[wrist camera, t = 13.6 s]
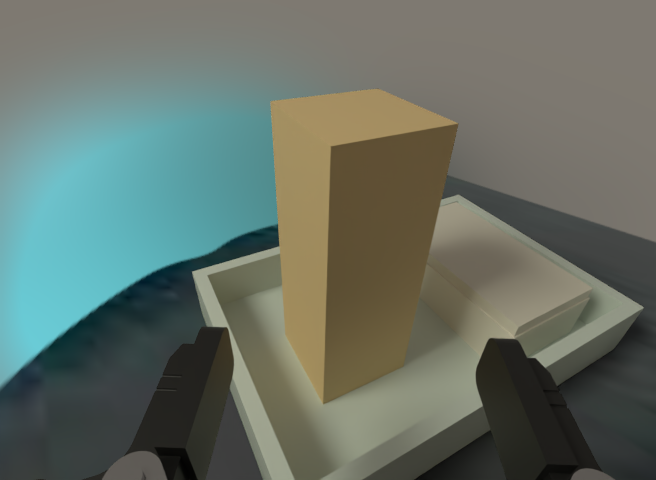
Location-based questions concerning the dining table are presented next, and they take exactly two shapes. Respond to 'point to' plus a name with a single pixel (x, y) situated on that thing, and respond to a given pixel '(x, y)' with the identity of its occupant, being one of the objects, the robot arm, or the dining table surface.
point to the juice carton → (355, 228)
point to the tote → (383, 393)
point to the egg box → (497, 285)
